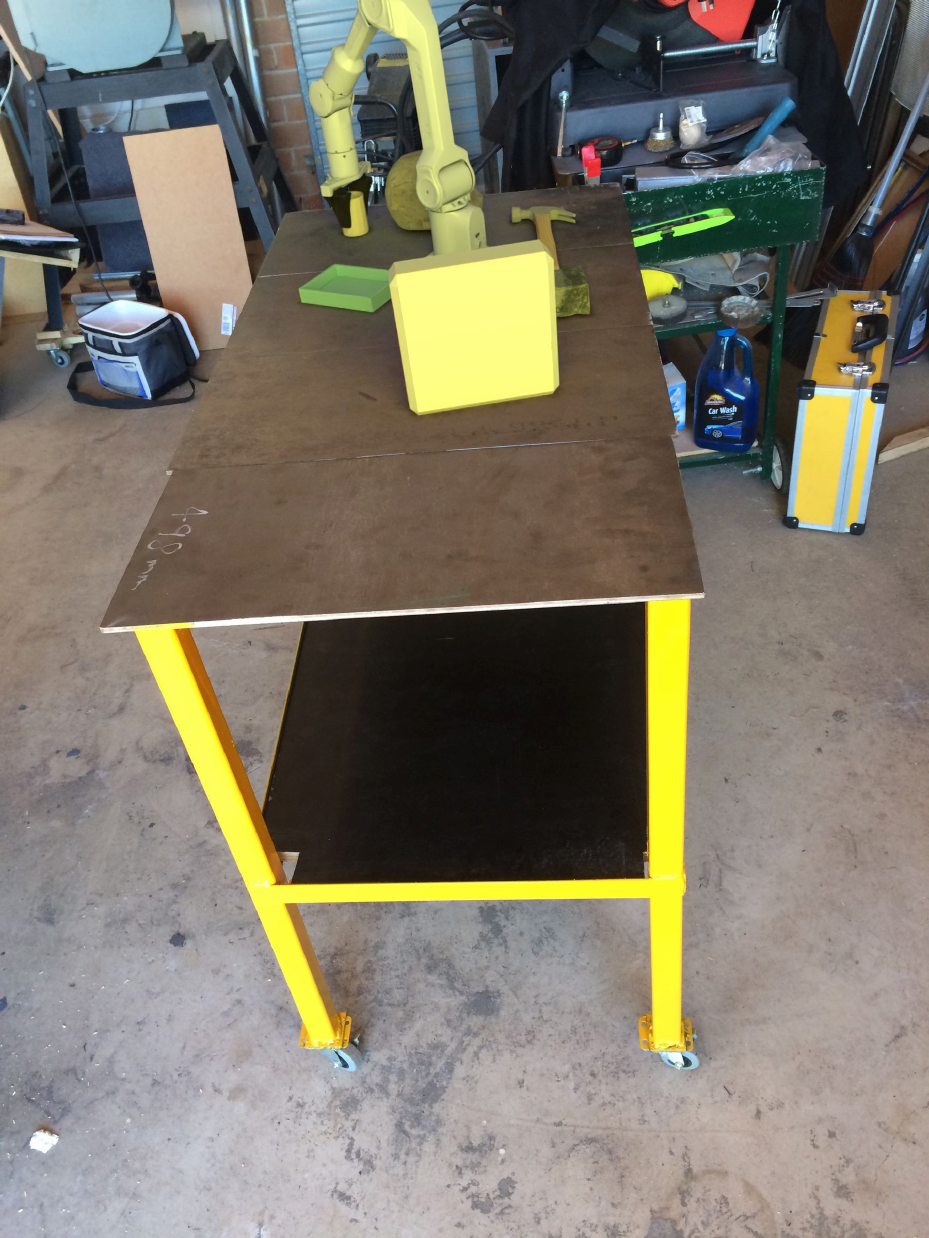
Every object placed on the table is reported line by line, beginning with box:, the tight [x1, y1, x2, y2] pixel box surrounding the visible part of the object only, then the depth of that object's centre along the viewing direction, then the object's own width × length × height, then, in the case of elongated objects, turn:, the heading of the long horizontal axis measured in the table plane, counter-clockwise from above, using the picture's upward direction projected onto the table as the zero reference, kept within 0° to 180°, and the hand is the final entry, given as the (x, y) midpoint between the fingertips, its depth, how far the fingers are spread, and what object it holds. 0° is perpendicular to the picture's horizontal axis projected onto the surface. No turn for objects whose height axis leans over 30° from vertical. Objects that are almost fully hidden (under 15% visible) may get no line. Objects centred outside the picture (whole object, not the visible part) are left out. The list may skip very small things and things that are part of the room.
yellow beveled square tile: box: [388, 239, 560, 416], centre depth 126 cm, size 21×8×20 cm, turn 97°
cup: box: [341, 190, 370, 238], centre depth 185 cm, size 5×5×7 cm
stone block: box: [554, 265, 591, 318], centre depth 150 cm, size 9×14×5 cm, turn 92°
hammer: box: [511, 205, 576, 270], centre depth 171 cm, size 12×3×30 cm
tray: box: [298, 263, 392, 313], centre depth 164 cm, size 15×11×2 cm
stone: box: [384, 149, 484, 231], centre depth 179 cm, size 19×7×15 cm, turn 77°
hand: (354, 222), depth 186 cm, fingers closed on cup, 5 cm apart
